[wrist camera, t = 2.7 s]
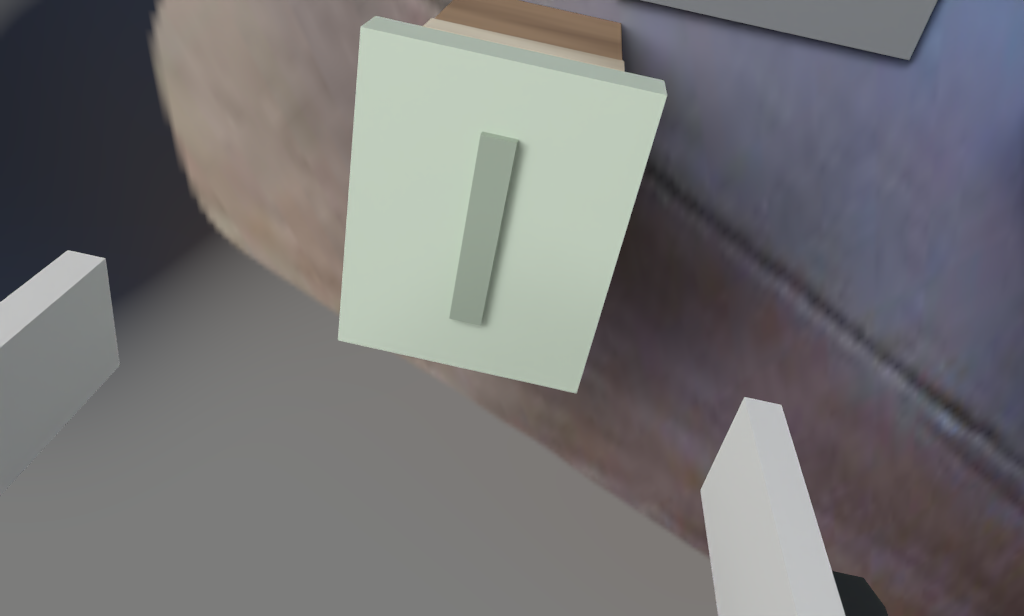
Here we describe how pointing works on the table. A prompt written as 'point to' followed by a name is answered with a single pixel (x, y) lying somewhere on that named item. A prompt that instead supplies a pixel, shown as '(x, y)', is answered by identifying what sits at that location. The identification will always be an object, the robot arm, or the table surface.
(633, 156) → the lid
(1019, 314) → the table surface
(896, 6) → the mat
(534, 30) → the walnut box
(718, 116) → the table surface
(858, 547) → the table surface
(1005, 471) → the table surface
